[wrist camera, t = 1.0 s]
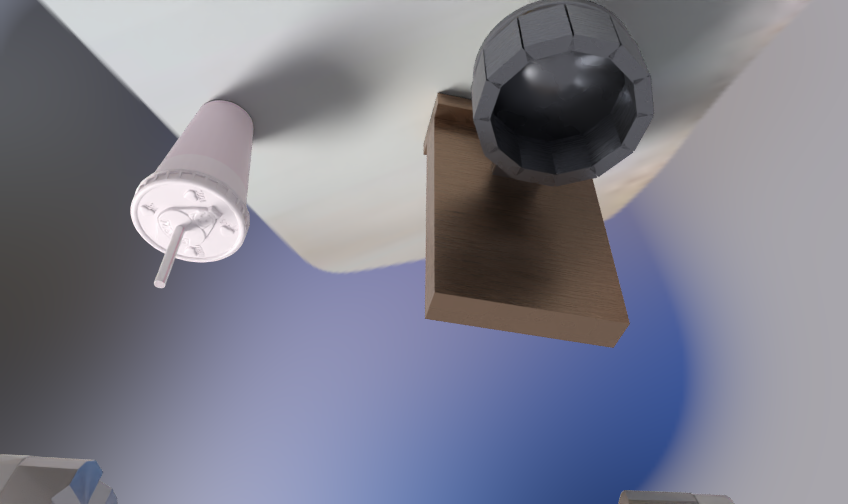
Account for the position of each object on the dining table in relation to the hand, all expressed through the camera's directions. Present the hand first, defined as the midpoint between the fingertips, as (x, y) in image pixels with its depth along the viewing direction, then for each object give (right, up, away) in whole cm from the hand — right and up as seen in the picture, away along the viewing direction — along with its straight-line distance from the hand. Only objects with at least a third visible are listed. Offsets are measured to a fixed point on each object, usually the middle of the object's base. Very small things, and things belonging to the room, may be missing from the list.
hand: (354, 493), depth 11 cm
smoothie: (-12, +12, +35) cm, 39 cm away
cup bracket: (+7, +15, +32) cm, 36 cm away
